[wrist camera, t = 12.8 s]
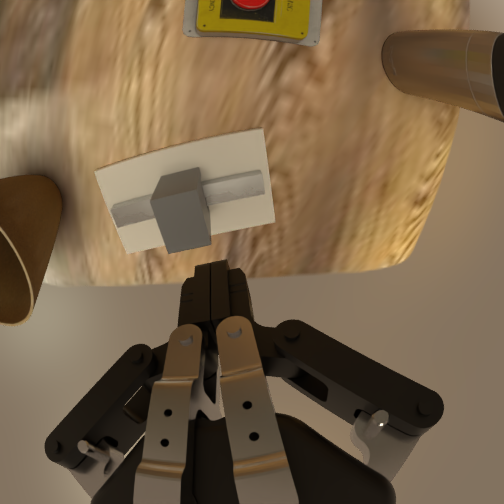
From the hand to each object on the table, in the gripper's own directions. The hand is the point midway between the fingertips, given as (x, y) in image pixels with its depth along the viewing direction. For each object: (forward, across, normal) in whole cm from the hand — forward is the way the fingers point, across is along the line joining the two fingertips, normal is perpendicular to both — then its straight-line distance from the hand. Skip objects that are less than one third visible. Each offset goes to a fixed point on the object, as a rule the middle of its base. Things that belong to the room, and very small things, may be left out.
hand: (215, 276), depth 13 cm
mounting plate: (+21, +4, +3) cm, 22 cm away
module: (+20, +4, +3) cm, 21 cm away
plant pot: (+20, +24, -2) cm, 32 cm away
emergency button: (+22, -8, -18) cm, 29 cm away
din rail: (+21, +4, +3) cm, 22 cm away
